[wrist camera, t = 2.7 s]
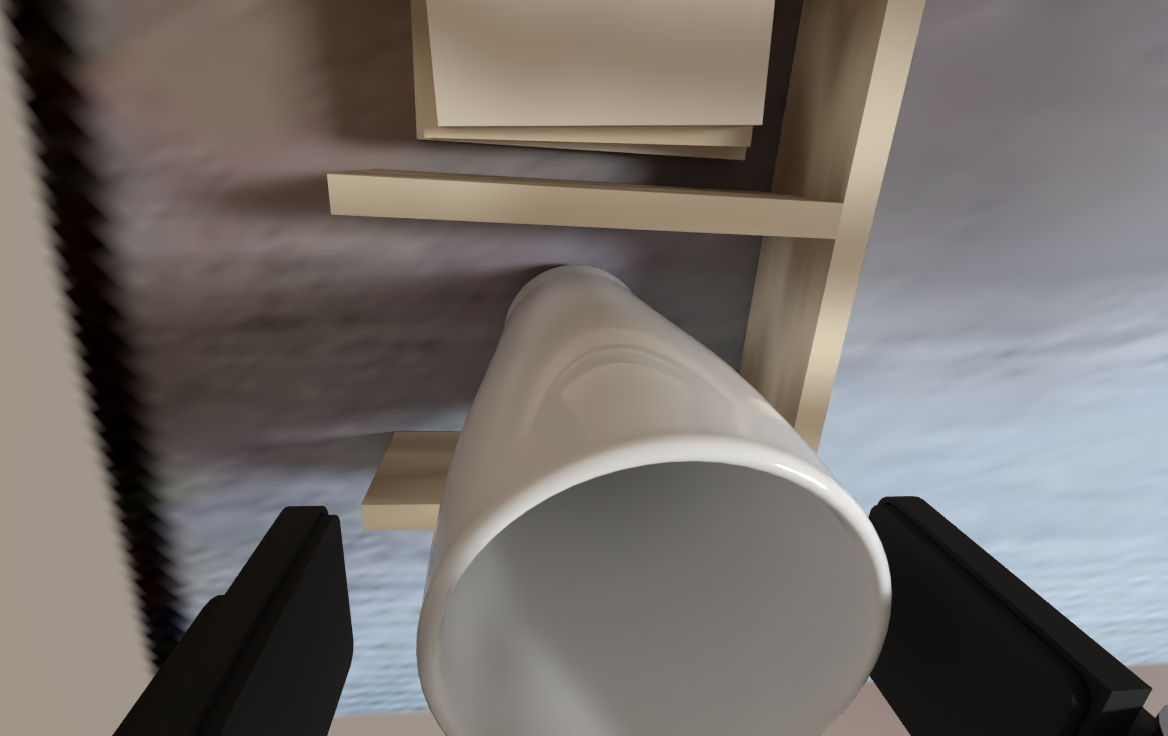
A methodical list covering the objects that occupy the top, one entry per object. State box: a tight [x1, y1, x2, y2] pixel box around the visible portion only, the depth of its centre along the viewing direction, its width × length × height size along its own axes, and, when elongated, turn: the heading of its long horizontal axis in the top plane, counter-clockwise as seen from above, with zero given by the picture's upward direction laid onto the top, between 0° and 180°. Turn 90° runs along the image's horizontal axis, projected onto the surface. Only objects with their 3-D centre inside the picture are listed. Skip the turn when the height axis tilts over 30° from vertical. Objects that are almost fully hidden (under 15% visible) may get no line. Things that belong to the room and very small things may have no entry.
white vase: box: [416, 265, 892, 736], centre depth 14 cm, size 7×7×15 cm
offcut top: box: [426, 0, 775, 129], centre depth 15 cm, size 5×9×2 cm, turn 91°
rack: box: [327, 0, 926, 531], centre depth 17 cm, size 20×15×5 cm
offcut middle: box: [414, 0, 753, 148], centre depth 16 cm, size 6×10×2 cm, turn 89°
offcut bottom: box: [410, 0, 747, 160], centre depth 18 cm, size 6×11×2 cm, turn 87°
